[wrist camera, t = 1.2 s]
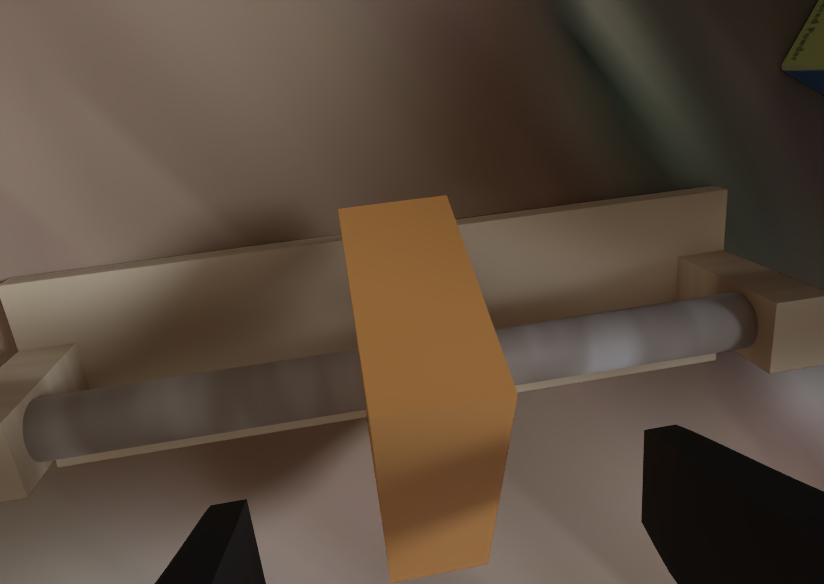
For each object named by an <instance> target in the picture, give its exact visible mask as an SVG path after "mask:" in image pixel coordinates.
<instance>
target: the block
mask: <svg viewBox="0 0 824 584" xmlns="http://www.w3.org/2000/svg"><path fill="white" fill-rule="evenodd" d="M338 213H339V221H340V228H341V235H342V242H343V250H344V257H345V263H346V270H347V277H348V283H349V290H350V297H351V304H352V310H353V317H354V324H355V330H356V338H357V345H358V353H359V360H360V367H361V375H362V382H363V389H364V397H365V404H366V416H367V423H368V430H369V437H370V443H371V450H372V457H373V464H374V471H375V478H376V484H377V491H378V498H379V505H380V512H381V518H382V525H383V532H384V539H385V546H386V553H387V559H388V566H389V573H390V580H391V583H393V582H398V581H403V580H408V579H413V578H419V577H424V576H429V575H434V574H439V573H444V572H450V571H455V570H460V569H465V568H470V567H476V566H481V565H486V564H488V561H489V556H490V550H491V544H492V539H493V533H494V527H495V522H496V516H497V510H498V505H499V499H500V493H501V488H502V482H503V476H504V471H505V465H506V459H507V454H508V448H509V442H510V437H511V431H512V425H513V420H514V414H515V408H516V403H517V397H518V393H517V390H516V388H515V385H514V382H513V379H512V376H511V374H510V371H509V368H508V365H507V362H506V360H505V357H504V354H503V351H502V348H501V346H500V343H499V340H498V337H497V334H496V332H495V329H494V326H493V323H492V320H491V318H490V315H489V312H488V309H487V306H486V304H485V301H484V298H483V295H482V292H481V290H480V287H479V284H478V281H477V278H476V276H475V273H474V270H473V267H472V264H471V262H470V259H469V256H468V253H467V250H466V248H465V245H464V242H463V239H462V236H461V234H460V231H459V228H458V225H457V222H456V220H455V217H454V214H453V211H452V208H451V206H450V203H449V200H448V197H447V195H443V196H435V197H427V198H419V199H411V200H403V201H395V202H387V203H380V204H372V205H364V206H356V207H348V208H340V209H338Z"/></svg>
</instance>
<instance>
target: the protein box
mask: <svg viewBox="0 0 824 584" xmlns="http://www.w3.org/2000/svg"><path fill="white" fill-rule="evenodd" d="M782 70H783V71H784V72H785V73H786V74H788V75H790V76H791V77H793V78H795V79H797V80H798V81H800V82H802V83H804V84H805V85H807V86H809V87H810V88H812V89H814V90H816V91H817V92H819V93H821V94H822V95H824V0H819V1H818V2H817V4H816V6H815V7H814V9H813V11H812V13H811V14H810V16H809V18H808V20H807V21H806V23H805V25H804V27H803V28H802V30H801V32H800V34H799V35H798V37H797V39H796V41H795V42H794V44H793V46H792V48H791V49H790V51H789V53H788V54H787V56H786V58H785V60H784V61H783V63H782Z"/></svg>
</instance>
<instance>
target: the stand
mask: <svg viewBox="0 0 824 584" xmlns="http://www.w3.org/2000/svg"><path fill="white" fill-rule="evenodd" d="M727 195H728V189H724V188H720V187H716V186H707V187H699V188H691V189H684V190H676V191H668V192H661V193H653V194H646V195H638V196H630V197H623V198H615V199H607V200H600V201H592V202H585V203H577V204H569V205H562V206H554V207H546V208H539V209H531V210H524V211H516V212H508V213H501V214H493V215H485V216H478V217H470V218H463V219H455V220H456V222H457V225H458V228H459V231H460V234H461V236H462V239H463V242H464V245H465V248H466V250H467V253H468V256H469V259H470V262H471V264H472V267H473V270H474V273H475V276H476V278H477V281H478V284H479V287H480V290H481V292H482V295H483V298H484V301H485V304H486V306H487V309H488V312H489V315H490V318H491V320H492V323H493V326H494V329H495V332H496V334H497V337H498V340H499V343H500V346H501V348H502V351H503V354H504V357H505V360H506V362H507V365H508V368H509V371H510V374H511V376H512V379H513V382H514V385H515V388H516V390H517V393H518V392H524V391H530V390H536V389H542V388H548V387H554V386H560V385H567V384H573V383H579V382H585V381H591V380H597V379H603V378H609V377H616V376H622V375H628V374H634V373H640V372H646V371H652V370H658V369H665V368H671V367H677V366H683V365H689V364H695V363H701V362H707V361H714V360H716V353H719V352H725V351H731V350H733V351H735V352H736V353H738V354H740V355H741V356H743V357H744V358H746V359H747V360H749V361H751V362H752V363H754V364H755V365H757V366H758V367H760V368H762V369H763V370H765V371H766V372H768V373H769V374H771V373H777V372H782V371H788V370H794V369H800V368H806V367H812V366H818V365H824V290H821V289H819V288H816V287H814V286H811V285H809V284H806V283H804V282H801V281H799V280H796V279H794V278H792V277H789V276H787V275H784V274H782V273H779V272H777V271H774V270H772V269H769V268H767V267H764V266H762V265H759V264H757V263H754V262H752V261H749V260H747V259H744V258H742V257H739V256H737V255H734V254H732V253H730V252H727V251H725V250H724V237H725V223H726V209H727ZM0 299H1V302H2V305H3V308H4V311H5V313H6V316H7V319H8V322H9V325H10V328H11V331H12V334H13V337H14V340H15V343H16V346H17V349H18V352H17V353H16V354H15V355H13V356H12V357H11V358H10V359H9V360H8V361H7V362H6V363H4V364H3V365H2V366H1V367H0V502H6V501H12V500H18V499H24V498H28V496H29V495H30V494H31V492H32V491H33V489H34V488H35V486H36V485H37V484H38V482H39V481H40V479H41V478H42V476H43V475H44V474H45V472H46V471H47V469H48V468H49V466H50V465H51V464H52V462H53V461H54V460H56V463H57V466H58V467H64V466H71V465H77V464H83V463H89V462H95V461H101V460H107V459H113V458H120V457H126V456H132V455H138V454H144V453H150V452H156V451H162V450H169V449H175V448H181V447H187V446H193V445H199V444H205V443H211V442H218V441H224V440H230V439H236V438H242V437H248V436H254V435H260V434H267V433H273V432H279V431H285V430H291V429H297V428H303V427H309V426H315V425H322V424H328V423H334V422H340V421H346V420H352V419H358V418H364V417H367V416H366V404H365V397H364V389H363V382H362V375H361V367H360V360H359V353H358V345H357V338H356V330H355V324H354V317H353V310H352V304H351V297H350V290H349V283H348V277H347V270H346V263H345V257H344V250H343V242H342V235H333V236H325V237H318V238H310V239H302V240H295V241H287V242H280V243H272V244H264V245H257V246H249V247H242V248H234V249H226V250H219V251H211V252H203V253H196V254H188V255H181V256H173V257H165V258H158V259H150V260H142V261H135V262H127V263H120V264H112V265H104V266H97V267H89V268H81V269H74V270H66V271H59V272H51V273H43V274H36V275H28V276H20V277H13V278H9V279H7V280H5V281H4V282H2V283H1V284H0Z"/></svg>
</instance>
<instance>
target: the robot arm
mask: <svg viewBox="0 0 824 584" xmlns="http://www.w3.org/2000/svg"><path fill="white" fill-rule="evenodd" d="M642 523H643V525H644V527H645V529H646V531H647V533H648V534H649V536H650V538H651V540H652V542H653V544H654V546H655V548H656V549H657V551H658V553H659V555H660V556H661V558H662V560H663V562H664V563H665V565H666V567H667V569H668V570H669V572H670V574H671V575H672V576H673V578H674V579H675V581H676V582H677V584H824V492H823V491H821V490H819V489H816V488H814V487H812V486H810V485H807V484H805V483H803V482H800V481H798V480H796V479H794V478H792V477H789V476H787V475H785V474H783V473H781V472H779V471H776V470H774V469H772V468H770V467H768V466H766V465H763V464H761V463H759V462H757V461H755V460H753V459H751V458H749V457H747V456H744V455H742V454H740V453H738V452H736V451H734V450H732V449H730V448H728V447H725V446H723V445H721V444H719V443H717V442H715V441H713V440H711V439H708V438H706V437H704V436H702V435H700V434H697V433H695V432H693V431H690V430H688V429H686V428H683V427H681V426H678V425H671V426H665V427H659V428H654V429H648V430H644V460H643V492H642ZM155 584H266V582H265V578H264V574H263V569H262V565H261V560H260V556H259V552H258V547H257V543H256V538H255V534H254V529H253V525H252V521H251V516H250V512H249V507H248V503H247V499H245V500H239V501H234V502H228V503H222V504H216V505H211V506H210V507H209V508H208V509H207V511H206V512H205V513H204V515H203V516H202V517H201V519H200V520H199V522H198V523H197V525H196V526H195V528H194V529H193V530H192V532H191V533H190V535H189V536H188V538H187V539H186V541H185V542H184V543H183V545H182V546H181V548H180V549H179V551H178V552H177V554H176V555H175V556H174V558H173V559H172V561H171V562H170V563H169V565H168V566H167V568H166V569H165V570H164V572H163V573H162V575H161V576H160V577H159V579H158V580H157V581H156V583H155Z"/></svg>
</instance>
